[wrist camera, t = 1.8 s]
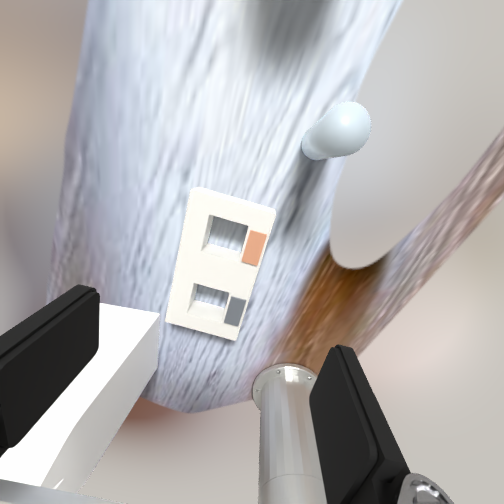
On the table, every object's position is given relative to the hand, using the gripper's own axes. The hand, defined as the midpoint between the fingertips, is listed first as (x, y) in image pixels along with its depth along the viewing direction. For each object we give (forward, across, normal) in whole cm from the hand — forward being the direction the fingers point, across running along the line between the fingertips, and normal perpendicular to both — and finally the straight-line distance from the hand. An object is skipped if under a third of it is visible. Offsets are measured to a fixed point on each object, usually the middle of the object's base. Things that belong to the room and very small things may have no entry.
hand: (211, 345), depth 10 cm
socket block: (+26, +3, +9) cm, 28 cm away
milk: (+26, +16, +26) cm, 41 cm away
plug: (+27, -6, -11) cm, 30 cm away
